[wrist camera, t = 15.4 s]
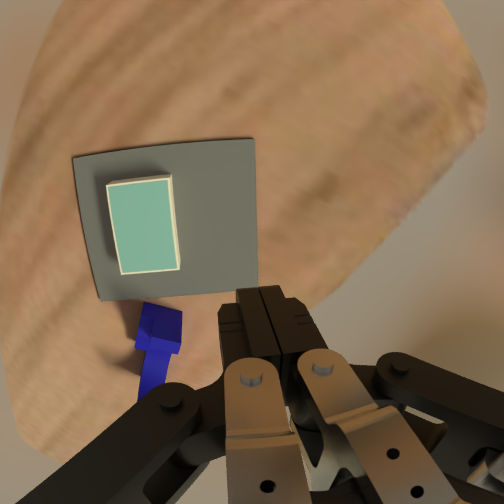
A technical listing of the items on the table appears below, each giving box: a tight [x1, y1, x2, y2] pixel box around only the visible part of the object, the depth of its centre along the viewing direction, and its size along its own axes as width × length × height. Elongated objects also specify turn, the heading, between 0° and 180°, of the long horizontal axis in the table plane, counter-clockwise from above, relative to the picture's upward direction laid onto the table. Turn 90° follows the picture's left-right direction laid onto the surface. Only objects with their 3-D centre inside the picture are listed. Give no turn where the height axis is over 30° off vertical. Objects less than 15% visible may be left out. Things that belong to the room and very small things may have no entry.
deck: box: [106, 174, 181, 275], centre depth 29 cm, size 9×2×6 cm
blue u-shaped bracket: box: [135, 302, 182, 402], centre depth 34 cm, size 12×4×6 cm, turn 159°
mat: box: [73, 139, 258, 301], centre depth 31 cm, size 16×18×1 cm
